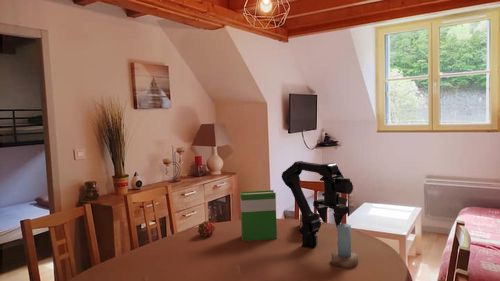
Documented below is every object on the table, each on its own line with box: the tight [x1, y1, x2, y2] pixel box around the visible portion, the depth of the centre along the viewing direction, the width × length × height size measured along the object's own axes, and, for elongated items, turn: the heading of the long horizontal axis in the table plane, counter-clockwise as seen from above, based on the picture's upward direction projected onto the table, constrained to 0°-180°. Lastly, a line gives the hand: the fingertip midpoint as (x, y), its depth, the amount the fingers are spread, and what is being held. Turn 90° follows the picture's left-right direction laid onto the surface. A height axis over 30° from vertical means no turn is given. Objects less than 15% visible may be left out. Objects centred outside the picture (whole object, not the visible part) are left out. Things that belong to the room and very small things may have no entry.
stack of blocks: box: [299, 207, 313, 238], centre depth 204 cm, size 21×6×12 cm, turn 171°
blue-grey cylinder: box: [337, 223, 352, 258], centre depth 158 cm, size 6×6×13 cm
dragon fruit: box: [197, 220, 216, 238], centre depth 201 cm, size 8×8×12 cm
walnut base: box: [331, 250, 359, 269], centre depth 159 cm, size 11×11×3 cm
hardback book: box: [239, 189, 278, 242], centre depth 194 cm, size 18×7×24 cm, turn 96°
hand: (330, 224), depth 170 cm, fingers open, 9 cm apart
